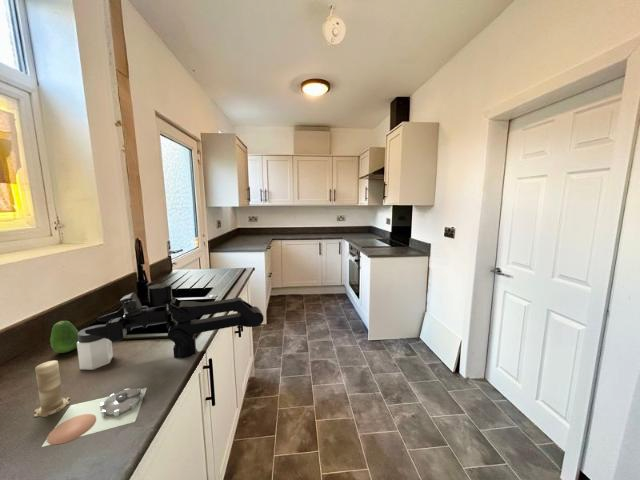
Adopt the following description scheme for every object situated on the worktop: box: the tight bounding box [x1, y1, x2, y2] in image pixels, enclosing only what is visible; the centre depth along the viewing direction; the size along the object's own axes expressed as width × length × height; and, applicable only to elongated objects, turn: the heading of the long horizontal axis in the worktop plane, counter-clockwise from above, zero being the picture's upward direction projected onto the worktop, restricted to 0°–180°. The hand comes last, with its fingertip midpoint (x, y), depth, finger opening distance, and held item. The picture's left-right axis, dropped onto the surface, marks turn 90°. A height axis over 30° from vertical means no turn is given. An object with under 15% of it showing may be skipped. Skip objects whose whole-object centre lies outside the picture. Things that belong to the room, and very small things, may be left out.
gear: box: [100, 387, 144, 418], centre depth 68 cm, size 9×9×2 cm
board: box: [41, 387, 148, 448], centre depth 65 cm, size 17×14×1 cm
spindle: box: [33, 360, 71, 418], centre depth 66 cm, size 7×7×13 cm
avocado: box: [49, 320, 79, 354], centre depth 95 cm, size 8×8×12 cm
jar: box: [76, 324, 114, 371], centre depth 88 cm, size 9×8×12 cm
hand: (91, 325), depth 80 cm, fingers open, 9 cm apart
